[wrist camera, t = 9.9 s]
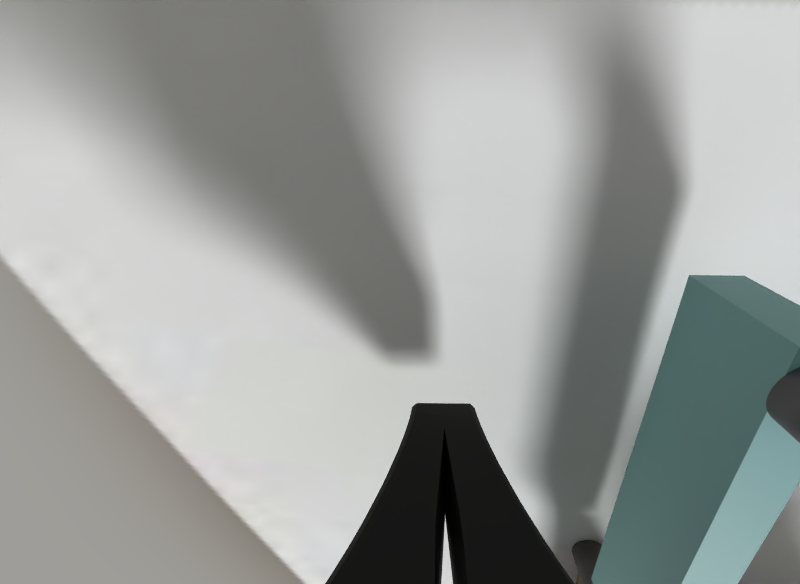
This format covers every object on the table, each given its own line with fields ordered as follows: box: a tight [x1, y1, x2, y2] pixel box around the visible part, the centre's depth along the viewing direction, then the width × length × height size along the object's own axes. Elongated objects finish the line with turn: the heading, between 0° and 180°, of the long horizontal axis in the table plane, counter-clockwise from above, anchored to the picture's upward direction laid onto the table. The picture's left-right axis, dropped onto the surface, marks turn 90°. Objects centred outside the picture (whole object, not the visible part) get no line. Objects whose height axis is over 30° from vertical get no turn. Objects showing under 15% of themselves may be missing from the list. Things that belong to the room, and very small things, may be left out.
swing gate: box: [591, 275, 800, 584], centre depth 8 cm, size 10×1×3 cm, turn 1°
